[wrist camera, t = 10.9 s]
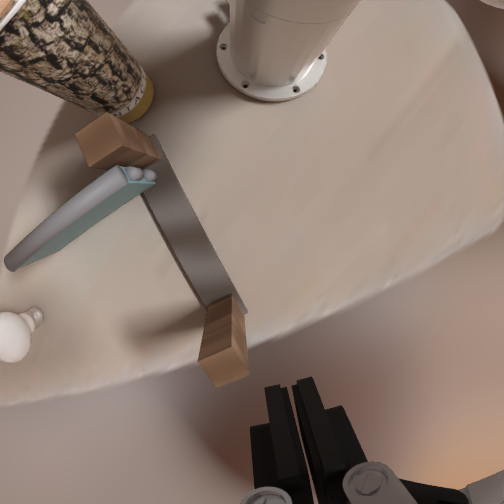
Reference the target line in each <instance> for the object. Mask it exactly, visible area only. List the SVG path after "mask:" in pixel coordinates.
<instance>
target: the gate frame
mask: <svg viewBox="0 0 504 504" xmlns="http://www.w3.org/2000/svg"><path fill="white" fill-rule="evenodd" d="M75 136H76V138H77V141H78V143H79V145H80V148H81V150H82V153H83V155H84V157H85V160H86V162H87V164H88V166H89V168H98V169H107V170H110V169H111V168H113V167H114V166H116V165H118V166H121V167H129V166H130V167H136V168H141V169H142V170H145V169H147V170H153V171H155V172H156V173H157V179H156V180H155V183H156V184H154V185H153V186H151V187H150V188H148V189H147V190H145V191H143V193H144V195H145V197H146V199H147V201H148V203H149V205H150V207H151V209H152V211H153V213H154V215H155V217H156V219H157V221H158V223H159V224H160V226H161V228H162V230H163V232H164V234H165V236H166V238H167V239H168V241H169V243H170V245H171V247H172V249H173V251H174V252H175V254H176V256H177V258H178V260H179V261H180V263H181V265H182V267H183V269H184V270H185V272H186V274H187V276H188V277H189V279H190V281H191V283H192V284H193V286H194V288H195V290H196V291H197V293H198V295H199V297H200V298H201V300H202V302H203V303H204V305H205V307H206V308H207V310H208V311H207V316H206V321H205V326H204V331H203V336H202V342H201V347H200V352H199V358H198V362H199V364H200V365H201V367H202V368H203V369H204V371H205V372H206V374H207V375H208V377H209V378H210V379H211V381H212V382H213V383H214V385H215V386H216V388H218V387H221V386H223V385H225V384H228V383H231V382H233V381H235V380H238V379H240V378H243V377H245V376H247V375H249V368H248V367H249V366H248V356H247V343H246V332H245V320H244V314H246V313H248V311H247V309H246V307H245V305H244V303H243V302H242V300H241V298H240V296H239V294H238V292H237V291H236V289H235V287H234V285H233V283H232V282H231V280H230V278H229V276H228V274H227V272H226V270H225V269H224V267H223V265H222V263H221V261H220V259H219V258H218V256H217V254H216V252H215V250H214V248H213V246H212V244H211V243H210V241H209V239H208V237H207V235H206V233H205V231H204V229H203V227H202V226H201V224H200V222H199V220H198V218H197V216H196V214H195V212H194V210H193V208H192V206H191V204H190V203H189V201H188V199H187V197H186V195H185V193H184V191H183V189H182V187H181V185H180V183H179V181H178V179H177V177H176V175H175V173H174V171H173V169H172V167H171V165H170V163H169V161H168V159H167V157H166V155H165V153H164V151H163V149H162V147H161V145H160V143H159V141H158V139H157V137H156V135H152V136H148V135H147V134H145V133H143V132H142V131H140V130H138V129H136V128H135V127H133V126H131V125H129V124H128V123H126V122H124V121H122V120H120V119H119V118H117V117H115V116H113V115H112V114H110V113H108V112H106V113H105V114H103V115H102V116H100V117H99V118H97V119H96V120H94V121H93V122H91V123H90V124H89V125H87V126H86V127H84V128H83V129H82V130H80V131H79V132H77V133H76V134H75Z"/></svg>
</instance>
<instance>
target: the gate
mask: <svg viewBox="0 0 504 504" xmlns="http://www.w3.org/2000/svg"><path fill="white" fill-rule="evenodd" d="M156 179H157V173H156V172H155V171H153V170H147V169H145V170H142V169H141V168H136V167H130V166H129V167H121V166H118V165H116V166H114V167H113V168H111V169H110V170H108V171H107V172H106V173H104V174H103V175H101V176H100V177H99V178H97V179H96V180H95V181H93V182H92V183H91V184H89V185H88V186H87V187H85V188H84V189H83V190H81V191H80V192H79V193H77V194H76V195H75V196H73V197H72V198H71V199H70V200H68V201H67V202H66V203H65V204H63V205H62V206H61V207H60V208H59V209H57V210H56V211H55V212H54V213H53V214H51V215H50V216H49V217H48V218H47V219H45V220H44V221H43V222H42V223H41V224H40V225H39V226H37V227H36V228H35V229H34V230H33V231H32V232H31V233H30V234H28V235H27V236H26V237H25V238H24V239H23V240H22V241H21V242H20V243H19V244H18V245H17V246H16V247H14V248H13V249H12V250H11V251H10V252H9V253H8V254H7V255H6V256H5V258H4V263H5V266H6V268H7V269H8V270H9V271H11V272H14V271H16V270H17V269H19V268H21V267H23V266H25V265H27V264H30V263H32V262H34V261H36V260H39V259H41V258H43V257H45V256H48V255H50V254H52V253H55V252H57V251H59V250H61V249H62V248H63V247H65V246H66V245H67V244H69V243H70V242H71V241H73V240H74V239H75V238H77V237H78V236H79V235H81V234H82V233H83V232H85V231H86V230H87V229H89V228H90V227H92V226H93V225H94V224H96V223H97V222H99V221H100V220H101V219H103V218H104V217H106V216H107V215H109V214H110V213H112V212H113V211H115V210H116V209H117V208H119V207H120V206H122V205H123V204H125V203H126V202H128V201H129V200H131V199H133V198H134V197H136V196H137V195H139V194H140V193H142V192H143V191H145V190H147V189H148V188H150V187H151V186H153V185H154V184H156V183H155V180H156Z"/></svg>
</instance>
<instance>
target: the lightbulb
mask: <svg viewBox="0 0 504 504" xmlns="http://www.w3.org/2000/svg"><path fill="white" fill-rule="evenodd" d="M42 323H43V315H42V313H41V311H40V310H39V309H38V308H36V307H32V308H30V309H29V310H28V311H26V312H25V313H19V314H15V313H12V312H0V360H1V361H3V362H6V363H17V362H19V361H21V360H22V359H24V358H25V357H26V355H27V354H28V352H29V349H30V346H31V336H32V334H33V333H34V330H35V329H36V328H37V327H38V326H40V325H41V324H42Z"/></svg>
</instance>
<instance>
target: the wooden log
mask: <svg viewBox="0 0 504 504" xmlns="http://www.w3.org/2000/svg"><path fill="white" fill-rule="evenodd" d="M0 72H3V73H5V74H8V75H10V76H12V77H14V78H17V79H19V80H22V81H24V82H26V83H29V84H31V85H33V86H35V87H38V88H40V89H42V90H44V91H46V92H49V93H51V94H53V95H55V96H57V97H60V98H62V99H64V100H66V101H68V102H70V103H73V104H75V105H77V106H79V107H81V108H83V109H85V110H87V111H89V112H91V113H93V114H96V115H98V116H102V115H103V114H105V113H106V112H108V113H110V114H112V115H113V116H115V117H117V118H119V119H120V120H122V121H124V122H126V123H130V122H133V121H135V120H137V119H138V118H140V117H141V116H142V115H143V114H144V113H145V112H146V111H147V110H148V108H149V107H150V105H151V103H152V100H153V96H154V87H153V83H152V81H151V79H150V78H149V77H148V75H147V74H146V73H145V71H144V70H143V69H142V67H141V66H140V65H139V64H138V62H137V61H136V60H135V59H134V57H133V56H132V55H131V54H130V52H129V51H128V50H127V49H126V47H125V46H124V45H123V44H122V42H121V41H120V40H119V39H118V38H117V36H116V35H115V34H114V33H113V31H112V30H111V29H110V28H109V27H108V25H107V24H106V23H105V22H104V20H103V19H102V18H101V17H100V16H99V14H98V13H97V12H96V11H95V10H94V8H93V7H92V6H91V5H90V4H89V2H88V1H87V0H0Z"/></svg>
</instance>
